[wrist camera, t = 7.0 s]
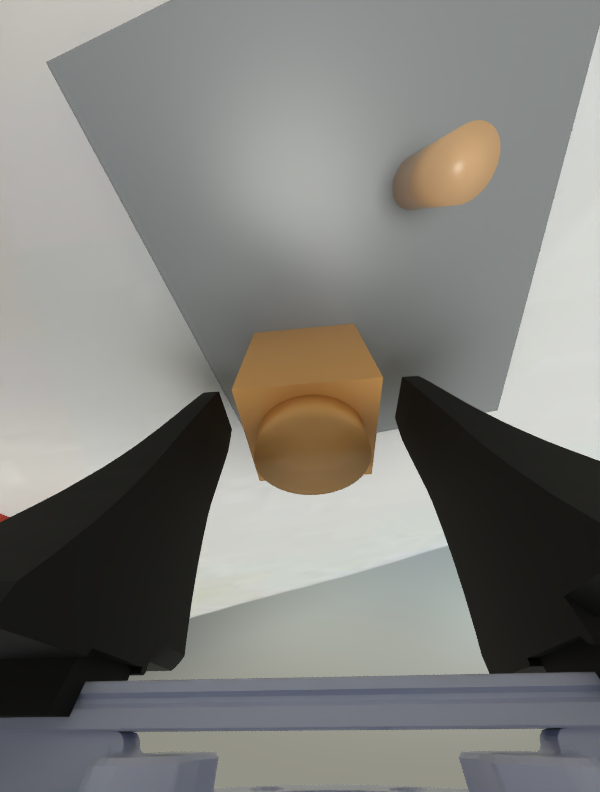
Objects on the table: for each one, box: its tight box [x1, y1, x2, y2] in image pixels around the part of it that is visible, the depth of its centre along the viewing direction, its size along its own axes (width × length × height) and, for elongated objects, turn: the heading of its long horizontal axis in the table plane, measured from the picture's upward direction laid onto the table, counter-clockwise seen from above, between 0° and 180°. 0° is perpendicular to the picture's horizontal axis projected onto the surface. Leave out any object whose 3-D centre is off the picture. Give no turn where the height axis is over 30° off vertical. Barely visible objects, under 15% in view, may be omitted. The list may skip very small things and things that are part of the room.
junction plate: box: [46, 0, 600, 432], centre depth 9 cm, size 14×16×4 cm
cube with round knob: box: [232, 324, 383, 495], centre depth 10 cm, size 4×4×6 cm
